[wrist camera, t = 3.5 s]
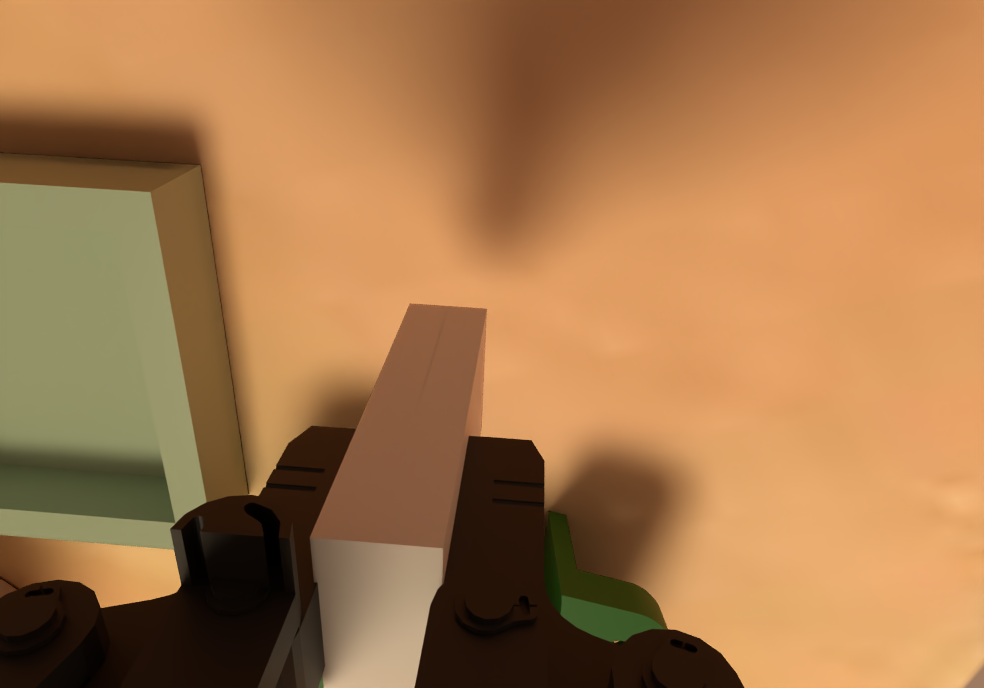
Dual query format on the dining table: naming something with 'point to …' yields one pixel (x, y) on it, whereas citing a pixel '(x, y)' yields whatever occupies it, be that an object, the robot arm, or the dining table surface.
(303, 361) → the dining table surface
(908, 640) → the dining table surface
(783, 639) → the dining table surface
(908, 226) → the dining table surface
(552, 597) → the clamp
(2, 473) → the tray
